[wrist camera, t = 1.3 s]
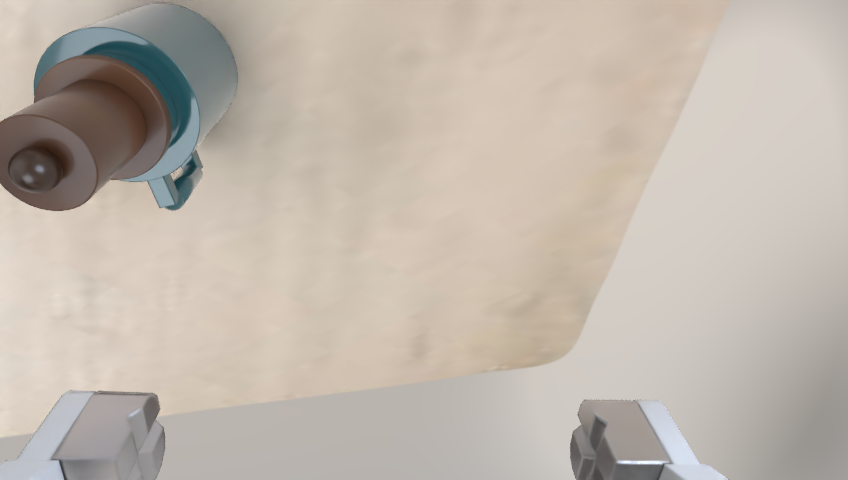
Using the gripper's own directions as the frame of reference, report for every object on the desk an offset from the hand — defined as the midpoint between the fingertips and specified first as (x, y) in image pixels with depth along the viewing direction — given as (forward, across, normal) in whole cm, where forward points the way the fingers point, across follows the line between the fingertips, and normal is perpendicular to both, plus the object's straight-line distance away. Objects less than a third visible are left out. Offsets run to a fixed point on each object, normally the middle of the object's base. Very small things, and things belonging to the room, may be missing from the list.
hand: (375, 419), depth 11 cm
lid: (+24, +15, +2) cm, 28 cm away
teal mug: (+35, +15, +3) cm, 38 cm away
